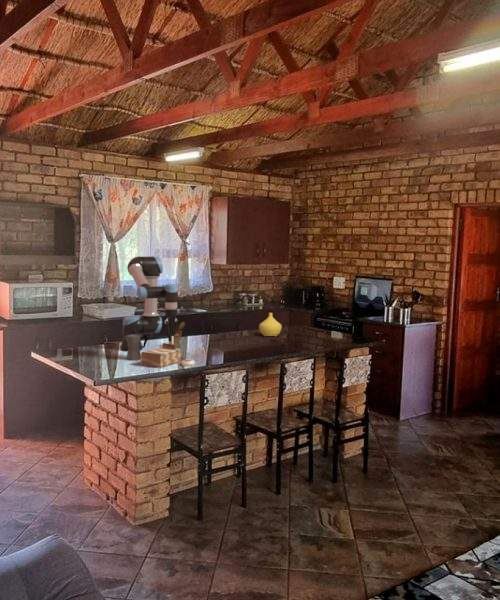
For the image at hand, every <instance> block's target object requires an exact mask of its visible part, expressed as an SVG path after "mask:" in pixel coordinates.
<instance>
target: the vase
mask: <svg viewBox="0 0 500 600" xmlns="http://www.w3.org/2000/svg"><path fill="white" fill-rule="evenodd" d="M258 327H259V331H260V333H261V334H262V336H264V337H266V336H275V337H277V336H278V335H280V333H281V331H282V324H281V323H280V322H278V321H277V320H276V319H275V318H274V317H273V312H268V317H267V318H266V319H265V320H264V321H262V322H261V323H260V324H259V325H258Z"/></svg>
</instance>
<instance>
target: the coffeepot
mask: <svg viewBox="0 0 500 600" xmlns="http://www.w3.org/2000/svg"><path fill="white" fill-rule="evenodd" d="M124 338H125V339H126V341H127V343H128V346H129V349H128V351H127V353H126V360H127V361H132V360H134V361H141V350H140V349H139V346H140V341H141V340H142V339H144V342H143V343H142V346H141V347H142V348H144V349H145V348H146V346H147V345H146V344H147V342H148V339H149V338H148V336H147V334H140V335H137V334H135V331H133V334H131V335H126V336H124ZM141 342H142V341H141Z"/></svg>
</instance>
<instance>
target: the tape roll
mask: <svg viewBox="0 0 500 600" xmlns="http://www.w3.org/2000/svg"><path fill="white" fill-rule="evenodd" d="M180 363H181V366H182V367H193V366H195V365H196V364H195V363H196V362H195V360H194V359H183V360H180Z"/></svg>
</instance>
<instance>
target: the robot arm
mask: <svg viewBox="0 0 500 600" xmlns="http://www.w3.org/2000/svg"><path fill="white" fill-rule="evenodd" d="M126 267H127V269H126V270H127V272H128V274H129V276H132V279H133V281H134V282H135V285H136V287H137V289H136V296H137V298H138V299H143V300H144V312H143V313H142V316H140V315H130V316H125V317H123V319H122V340H121V343H120V346H119V347H120V349H119V350H120V351H123V352H128V349H129V346H128V343H127V341H126V339H125V338H124V336H126V335H131V334H133V331H135V334H137V335H147V334H149V335H150V334H152V335H153V334H158V333H160V332H161V329H162V327H163V324H164V330H165V336H167V339H168V344H173V341H174V336H175V334H176V332H177V330H178V323H179V318H177V315H178V285H177V284H175V283H167V284H165V285H162V286H160V285H159V286H158V282H159V281H158V278H160V276H161V274H163V271H164V266H163V261H162V259H161V258H160V257H159V256H135V257H133V258H132V259H130V260H129V262H128V263H127V266H126ZM158 299H164V308H165V309H164V315H165V320H163V319H162V317H161V316H160V314H159V313H158ZM141 346H143V343H142V341H140V346H139V349H140V351H142V350H143V348H142V347H141Z"/></svg>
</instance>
